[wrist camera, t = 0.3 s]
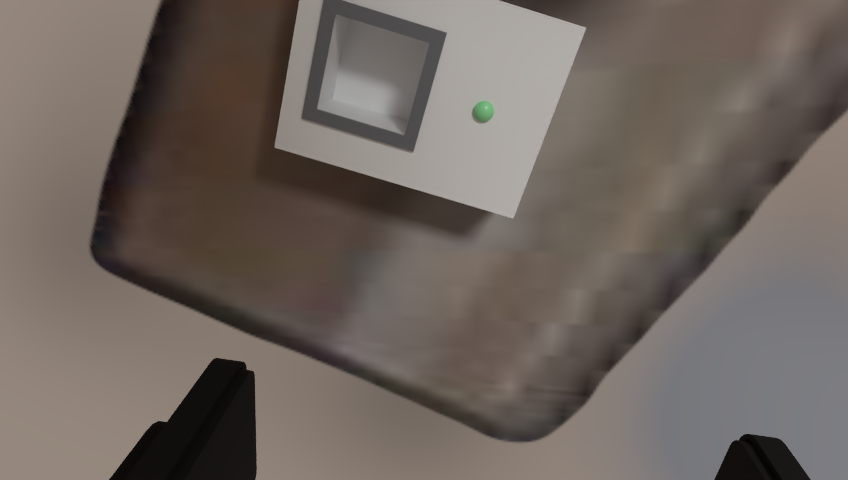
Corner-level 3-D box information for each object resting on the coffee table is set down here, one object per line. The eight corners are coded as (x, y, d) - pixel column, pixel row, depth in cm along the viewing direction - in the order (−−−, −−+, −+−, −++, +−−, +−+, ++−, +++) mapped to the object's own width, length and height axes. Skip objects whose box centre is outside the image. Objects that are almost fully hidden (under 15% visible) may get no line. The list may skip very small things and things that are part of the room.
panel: (331, -51, 34) (308, -60, 29) (571, 24, 35) (586, 27, 30) (297, 130, 39) (273, 148, 34) (508, 193, 39) (513, 219, 35)
